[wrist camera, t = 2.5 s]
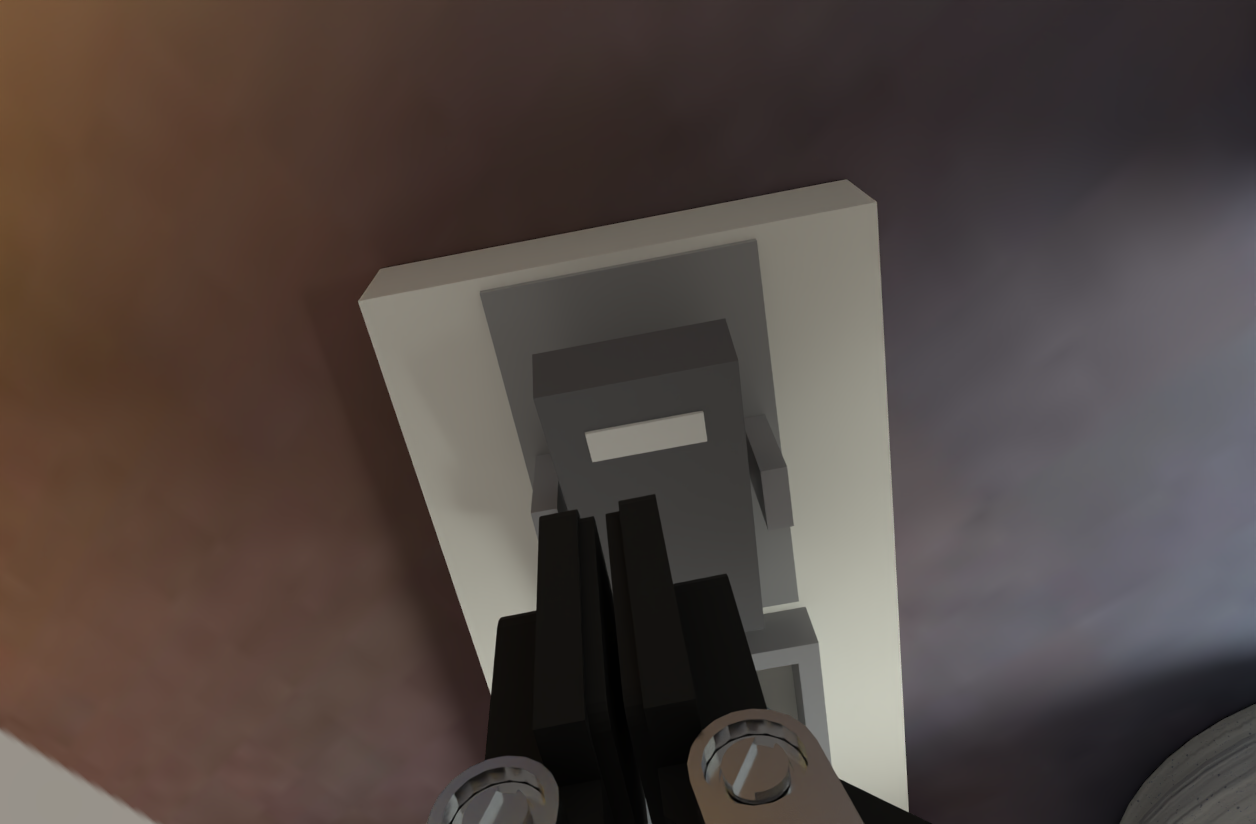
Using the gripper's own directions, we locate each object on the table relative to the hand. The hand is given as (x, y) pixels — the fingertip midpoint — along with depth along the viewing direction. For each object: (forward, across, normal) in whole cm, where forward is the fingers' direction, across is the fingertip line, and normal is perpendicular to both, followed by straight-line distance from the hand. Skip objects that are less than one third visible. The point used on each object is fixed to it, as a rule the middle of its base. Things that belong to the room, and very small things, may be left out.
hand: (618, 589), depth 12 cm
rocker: (+7, -1, +3) cm, 8 cm away
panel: (+12, -1, +12) cm, 17 cm away
